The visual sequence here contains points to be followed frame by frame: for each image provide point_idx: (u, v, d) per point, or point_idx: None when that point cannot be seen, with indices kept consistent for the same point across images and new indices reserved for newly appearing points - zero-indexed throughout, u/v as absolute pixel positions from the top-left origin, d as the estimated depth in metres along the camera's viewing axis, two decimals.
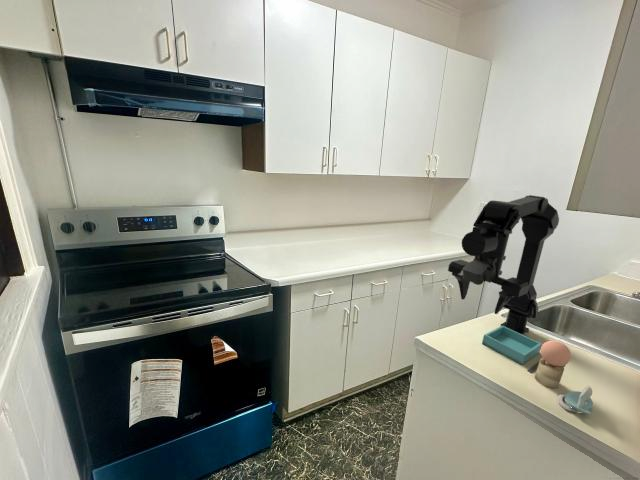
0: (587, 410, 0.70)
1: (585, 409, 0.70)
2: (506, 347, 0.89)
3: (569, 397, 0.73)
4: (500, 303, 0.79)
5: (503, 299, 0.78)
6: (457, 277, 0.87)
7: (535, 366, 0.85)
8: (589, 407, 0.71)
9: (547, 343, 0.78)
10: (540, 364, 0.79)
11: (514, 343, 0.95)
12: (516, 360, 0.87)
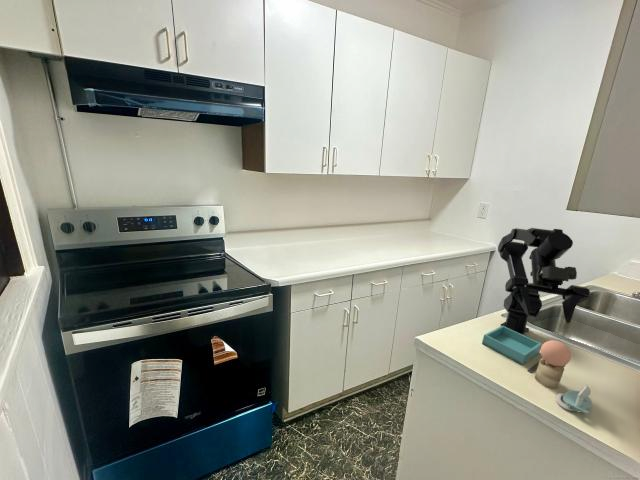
0: (585, 409, 0.70)
1: (583, 408, 0.70)
2: (506, 347, 0.89)
3: (567, 396, 0.74)
4: (572, 309, 0.83)
5: (575, 304, 0.83)
6: (525, 289, 0.86)
7: (535, 366, 0.85)
8: (587, 406, 0.71)
9: (547, 343, 0.78)
10: (540, 364, 0.79)
11: (514, 343, 0.95)
12: (516, 360, 0.87)
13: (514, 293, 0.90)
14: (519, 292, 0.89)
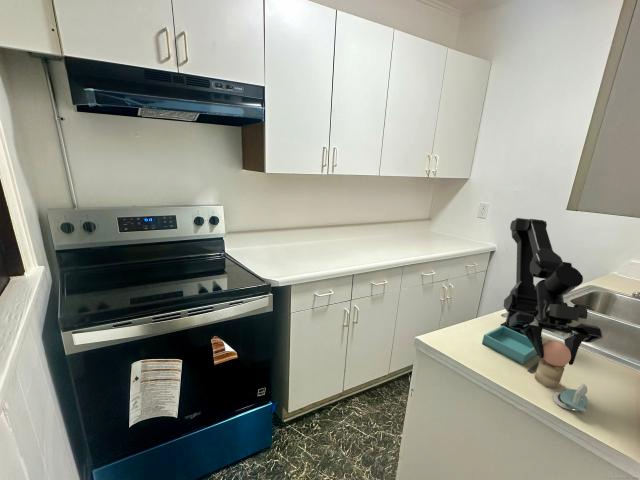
0: (582, 408, 0.71)
1: (580, 407, 0.71)
2: (506, 347, 0.89)
3: (564, 395, 0.74)
4: (576, 349, 0.77)
5: (578, 343, 0.77)
6: (537, 328, 0.79)
7: (535, 366, 0.85)
8: (584, 405, 0.71)
9: (547, 343, 0.78)
10: (540, 364, 0.79)
11: (514, 343, 0.95)
12: (516, 360, 0.87)
13: (525, 331, 0.83)
14: (530, 331, 0.81)
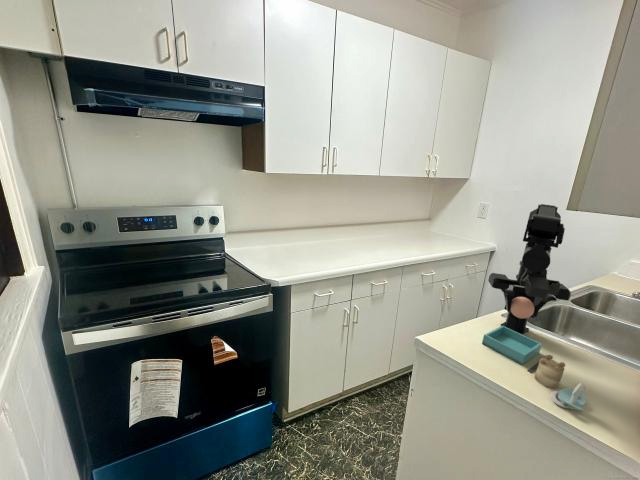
0: (580, 406, 0.71)
1: (577, 406, 0.71)
2: (506, 347, 0.89)
3: (562, 394, 0.74)
4: (540, 306, 0.87)
5: (544, 303, 0.86)
6: (509, 293, 0.87)
7: (535, 366, 0.85)
8: (582, 403, 0.72)
9: (516, 302, 0.89)
10: (540, 364, 0.79)
11: (514, 343, 0.95)
12: (516, 360, 0.87)
13: None
14: None
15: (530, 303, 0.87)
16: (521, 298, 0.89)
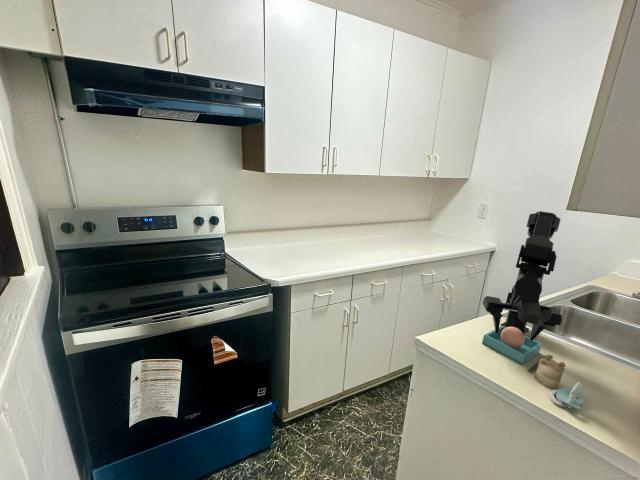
0: (578, 405, 0.71)
1: (575, 405, 0.71)
2: (506, 347, 0.89)
3: (560, 393, 0.74)
4: (539, 331, 0.89)
5: (543, 328, 0.88)
6: (497, 316, 0.90)
7: (535, 366, 0.85)
8: (580, 403, 0.72)
9: (506, 333, 0.91)
10: (540, 364, 0.79)
11: None
12: (516, 360, 0.87)
13: None
14: None
15: (520, 333, 0.90)
16: (511, 328, 0.92)
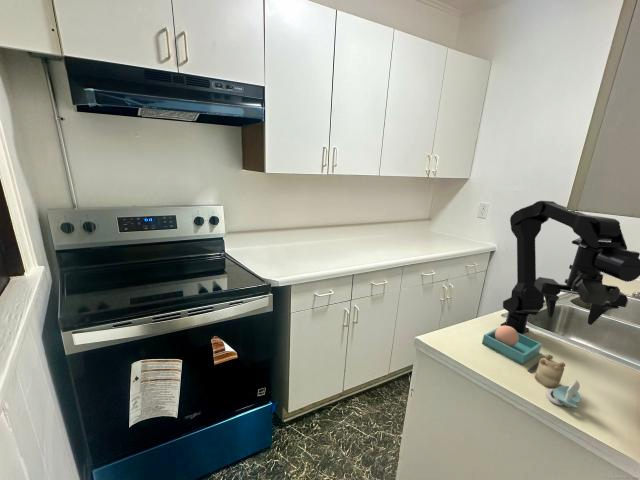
0: (574, 404, 0.71)
1: (572, 403, 0.72)
2: (506, 347, 0.89)
3: (557, 391, 0.75)
4: (599, 314, 0.81)
5: (604, 310, 0.81)
6: (554, 298, 0.82)
7: (535, 366, 0.85)
8: (576, 401, 0.72)
9: (497, 336, 0.92)
10: (540, 364, 0.79)
11: None
12: (516, 360, 0.87)
13: None
14: None
15: (509, 330, 0.91)
16: (500, 329, 0.92)
